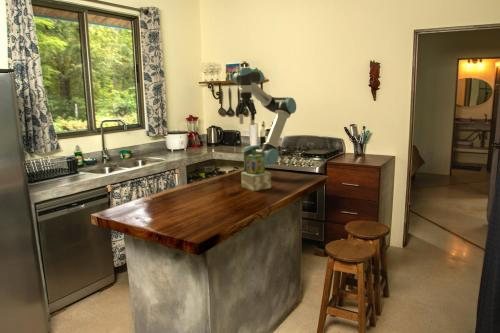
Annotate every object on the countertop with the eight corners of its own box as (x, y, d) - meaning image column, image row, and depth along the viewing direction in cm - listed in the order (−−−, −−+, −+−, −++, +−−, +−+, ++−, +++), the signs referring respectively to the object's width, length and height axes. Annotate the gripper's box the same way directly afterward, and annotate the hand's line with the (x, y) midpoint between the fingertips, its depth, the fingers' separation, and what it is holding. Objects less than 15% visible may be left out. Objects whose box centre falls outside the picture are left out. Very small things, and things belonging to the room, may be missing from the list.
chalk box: (257, 174, 250) (256, 151, 247) (245, 173, 255) (245, 150, 253) (265, 171, 258) (264, 149, 255) (253, 170, 263) (253, 148, 260)
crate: (258, 184, 268) (258, 171, 266) (271, 187, 256) (270, 174, 254) (241, 187, 260) (241, 174, 259) (253, 191, 249) (252, 177, 247)
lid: (259, 170, 266) (259, 169, 266) (271, 173, 255) (271, 172, 254) (241, 173, 258) (241, 172, 258) (252, 177, 247) (252, 175, 247)
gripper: (231, 92, 266) (232, 123, 270) (251, 91, 245) (252, 125, 249) (240, 92, 270) (241, 123, 274) (261, 91, 249) (262, 125, 253)
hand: (246, 124), depth 262 cm, fingers open, 13 cm apart
